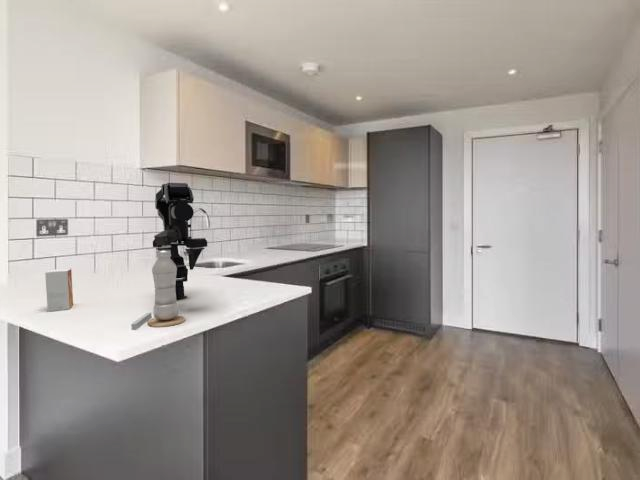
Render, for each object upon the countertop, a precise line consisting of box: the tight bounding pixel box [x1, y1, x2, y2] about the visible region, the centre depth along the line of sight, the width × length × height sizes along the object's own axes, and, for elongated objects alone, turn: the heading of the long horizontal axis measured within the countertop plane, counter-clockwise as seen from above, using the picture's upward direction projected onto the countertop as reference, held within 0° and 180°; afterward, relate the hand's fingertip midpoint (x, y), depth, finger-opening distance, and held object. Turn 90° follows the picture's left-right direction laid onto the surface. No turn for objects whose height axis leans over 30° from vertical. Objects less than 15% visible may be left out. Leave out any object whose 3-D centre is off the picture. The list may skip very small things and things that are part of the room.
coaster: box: [146, 315, 186, 328], centre depth 108 cm, size 10×10×1 cm
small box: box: [44, 268, 74, 312], centre depth 128 cm, size 8×6×13 cm
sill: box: [131, 312, 153, 331], centre depth 107 cm, size 12×1×2 cm, turn 6°
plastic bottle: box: [151, 250, 179, 320], centre depth 108 cm, size 6×7×20 cm
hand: (180, 269), depth 124 cm, fingers open, 9 cm apart
